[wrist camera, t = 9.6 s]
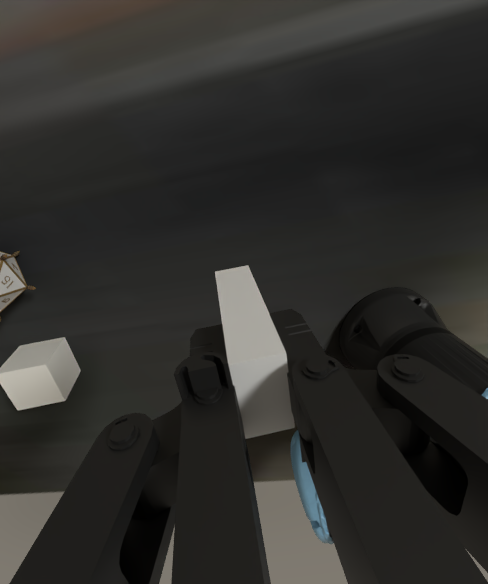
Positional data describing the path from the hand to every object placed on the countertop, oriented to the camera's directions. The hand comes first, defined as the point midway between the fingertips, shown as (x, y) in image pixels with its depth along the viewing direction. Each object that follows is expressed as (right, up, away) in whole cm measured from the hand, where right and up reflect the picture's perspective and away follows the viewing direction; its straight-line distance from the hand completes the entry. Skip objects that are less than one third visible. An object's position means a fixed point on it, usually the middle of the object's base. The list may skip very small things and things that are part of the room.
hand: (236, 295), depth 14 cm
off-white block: (-27, -9, +29) cm, 41 cm away
